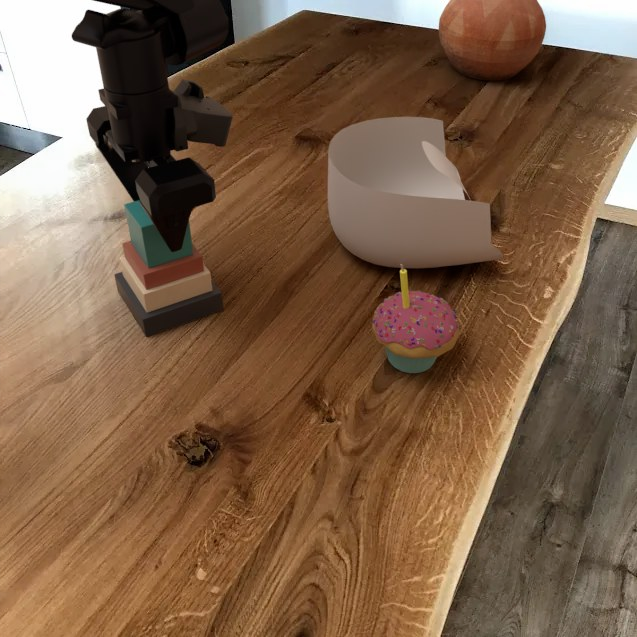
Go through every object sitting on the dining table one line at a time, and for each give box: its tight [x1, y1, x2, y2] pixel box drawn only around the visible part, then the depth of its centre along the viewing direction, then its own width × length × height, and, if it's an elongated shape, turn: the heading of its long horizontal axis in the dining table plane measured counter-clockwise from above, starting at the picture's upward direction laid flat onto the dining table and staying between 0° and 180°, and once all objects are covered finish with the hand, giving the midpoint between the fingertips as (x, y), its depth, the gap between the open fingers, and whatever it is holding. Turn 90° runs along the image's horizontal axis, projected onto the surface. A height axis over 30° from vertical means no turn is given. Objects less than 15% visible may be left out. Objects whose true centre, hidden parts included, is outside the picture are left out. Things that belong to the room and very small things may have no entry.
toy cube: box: [123, 200, 193, 268], centre depth 76 cm, size 5×5×5 cm
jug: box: [438, 0, 547, 82], centre depth 127 cm, size 18×18×20 cm
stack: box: [114, 240, 224, 338], centre depth 80 cm, size 9×9×7 cm
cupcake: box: [371, 264, 460, 374], centre depth 71 cm, size 9×8×12 cm
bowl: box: [327, 116, 504, 269], centre depth 88 cm, size 20×19×12 cm
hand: (159, 228), depth 76 cm, fingers open, 9 cm apart
